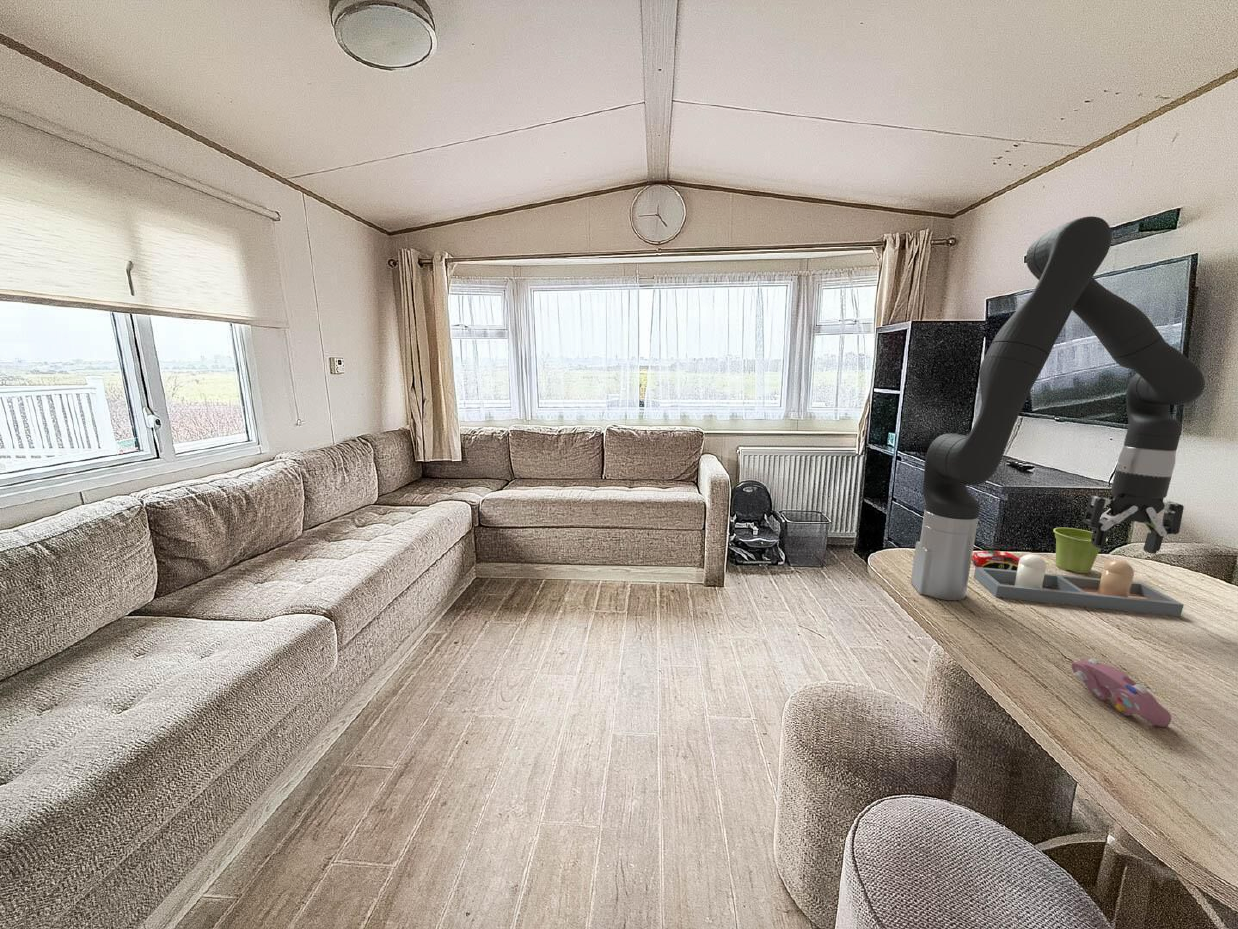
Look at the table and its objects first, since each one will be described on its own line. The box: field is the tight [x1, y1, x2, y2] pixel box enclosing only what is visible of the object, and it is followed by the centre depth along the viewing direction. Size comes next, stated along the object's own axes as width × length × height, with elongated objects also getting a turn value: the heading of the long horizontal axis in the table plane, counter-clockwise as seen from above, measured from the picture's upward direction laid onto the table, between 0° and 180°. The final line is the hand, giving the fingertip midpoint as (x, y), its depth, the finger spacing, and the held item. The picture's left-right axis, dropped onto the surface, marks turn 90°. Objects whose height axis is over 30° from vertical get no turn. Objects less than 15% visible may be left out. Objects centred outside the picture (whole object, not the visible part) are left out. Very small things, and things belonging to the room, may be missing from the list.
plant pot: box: [1052, 527, 1109, 574], centre depth 115 cm, size 9×9×9 cm
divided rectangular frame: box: [973, 566, 1184, 618], centre depth 102 cm, size 31×10×2 cm, turn 76°
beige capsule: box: [1098, 559, 1135, 597], centre depth 100 cm, size 4×4×8 cm
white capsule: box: [1013, 553, 1047, 589], centre depth 103 cm, size 4×4×8 cm
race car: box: [971, 550, 1021, 571], centre depth 115 cm, size 13×5×4 cm, turn 68°
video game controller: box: [1071, 657, 1172, 728], centre depth 68 cm, size 10×5×7 cm, turn 5°
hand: (1123, 549), depth 98 cm, fingers open, 8 cm apart
